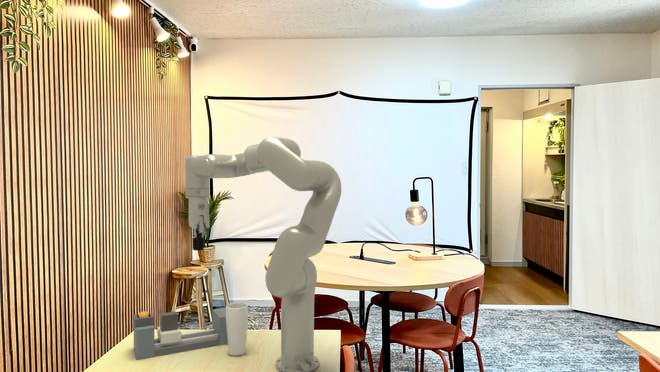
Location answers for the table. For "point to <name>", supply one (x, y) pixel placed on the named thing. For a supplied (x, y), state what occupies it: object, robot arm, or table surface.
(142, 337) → the rail track
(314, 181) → the robot arm
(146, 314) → the button
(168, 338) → the carriage
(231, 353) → the drinking glass
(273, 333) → the table surface
